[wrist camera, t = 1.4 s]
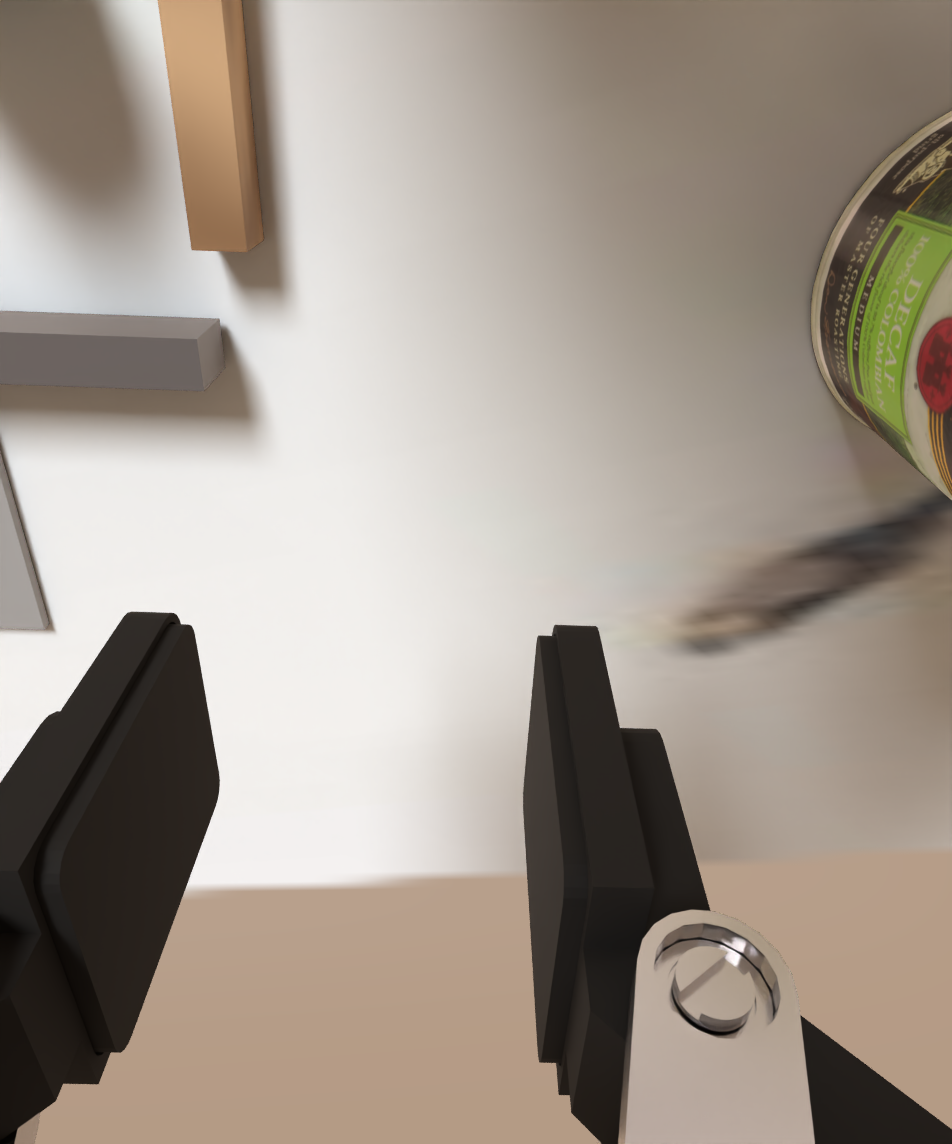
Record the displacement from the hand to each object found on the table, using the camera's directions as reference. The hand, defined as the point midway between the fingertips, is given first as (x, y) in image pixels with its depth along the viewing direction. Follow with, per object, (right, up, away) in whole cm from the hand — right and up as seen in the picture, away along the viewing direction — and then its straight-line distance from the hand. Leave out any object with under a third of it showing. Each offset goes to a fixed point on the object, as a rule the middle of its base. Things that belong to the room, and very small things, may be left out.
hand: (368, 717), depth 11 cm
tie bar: (-11, +9, +14) cm, 21 cm away
